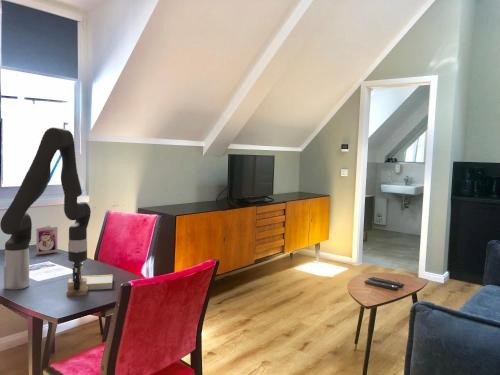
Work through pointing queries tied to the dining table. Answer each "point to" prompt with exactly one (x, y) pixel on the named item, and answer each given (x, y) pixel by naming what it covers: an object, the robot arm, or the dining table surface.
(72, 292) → the pallet
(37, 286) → the dining table surface
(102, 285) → the dock
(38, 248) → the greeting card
